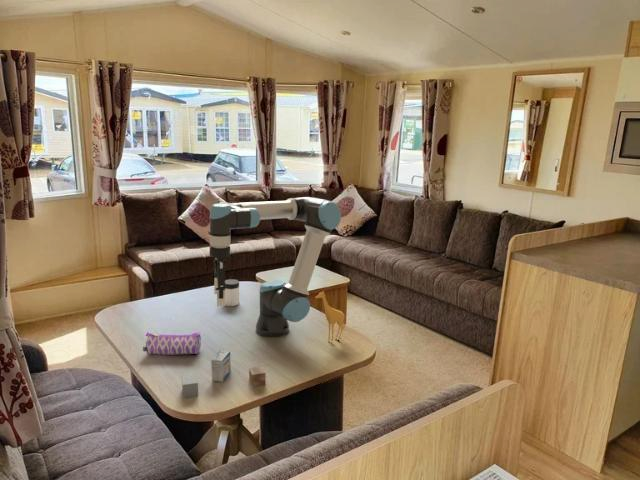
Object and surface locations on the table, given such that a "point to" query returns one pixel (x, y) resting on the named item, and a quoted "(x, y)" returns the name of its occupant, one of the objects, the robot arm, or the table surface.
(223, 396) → the table surface
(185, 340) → the pencil case
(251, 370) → the walnut block
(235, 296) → the jar
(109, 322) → the table surface
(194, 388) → the slate grey block
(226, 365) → the medicine box
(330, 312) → the giraffe
